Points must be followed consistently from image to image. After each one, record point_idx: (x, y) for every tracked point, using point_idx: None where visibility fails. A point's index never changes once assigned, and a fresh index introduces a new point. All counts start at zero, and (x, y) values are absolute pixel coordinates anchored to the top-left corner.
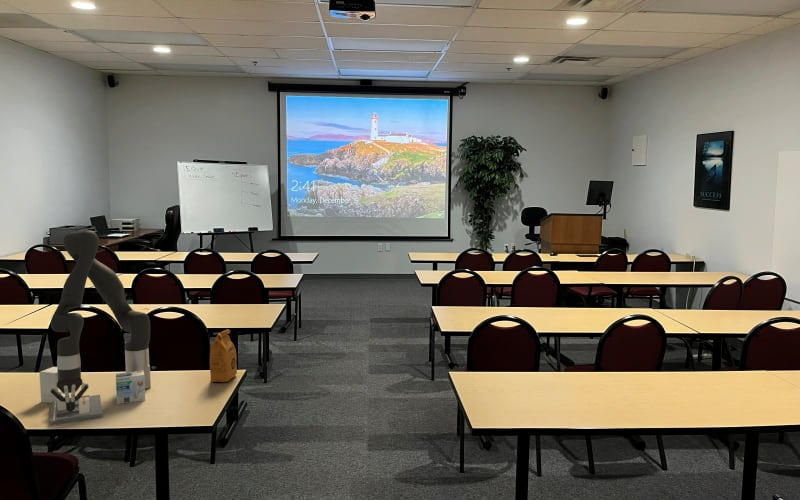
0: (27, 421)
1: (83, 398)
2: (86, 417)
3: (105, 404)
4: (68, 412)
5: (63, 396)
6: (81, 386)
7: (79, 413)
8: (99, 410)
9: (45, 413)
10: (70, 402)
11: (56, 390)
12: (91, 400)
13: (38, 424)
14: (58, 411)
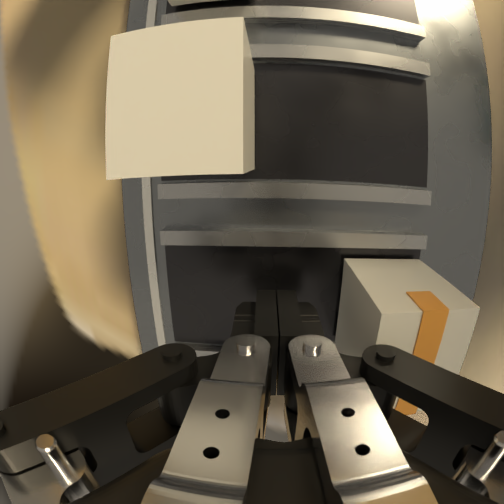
0: (27, 197)
1: (421, 355)
2: None
3: (493, 107)
4: (256, 244)
5: (184, 133)
6: (472, 488)
7: (337, 346)
8: None
9: (101, 82)
10: (278, 393)
11: (74, 498)
12: (430, 28)
13: (84, 282)
14: (173, 197)
